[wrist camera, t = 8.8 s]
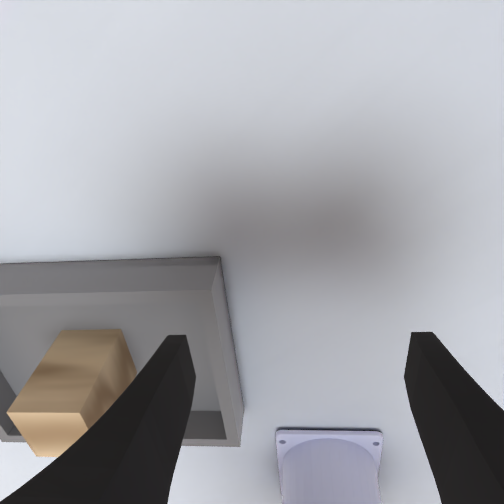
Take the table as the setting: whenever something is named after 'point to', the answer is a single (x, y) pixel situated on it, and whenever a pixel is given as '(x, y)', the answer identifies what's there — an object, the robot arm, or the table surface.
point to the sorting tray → (126, 328)
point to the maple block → (72, 388)
